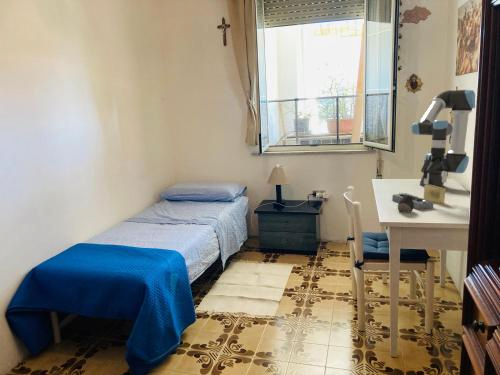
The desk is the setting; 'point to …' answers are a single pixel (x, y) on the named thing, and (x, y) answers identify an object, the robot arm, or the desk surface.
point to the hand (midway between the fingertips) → (435, 183)
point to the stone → (406, 204)
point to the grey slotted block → (418, 202)
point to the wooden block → (434, 193)
